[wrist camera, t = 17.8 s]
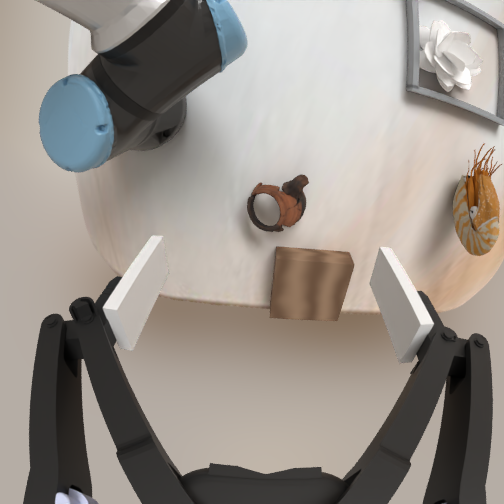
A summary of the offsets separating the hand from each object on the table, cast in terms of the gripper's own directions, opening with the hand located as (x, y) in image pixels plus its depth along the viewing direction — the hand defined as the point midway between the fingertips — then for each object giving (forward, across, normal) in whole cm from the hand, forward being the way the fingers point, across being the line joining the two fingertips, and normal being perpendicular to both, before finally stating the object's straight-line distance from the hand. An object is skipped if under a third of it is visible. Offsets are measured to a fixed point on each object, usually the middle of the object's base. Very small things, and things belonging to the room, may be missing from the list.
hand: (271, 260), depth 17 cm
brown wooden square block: (+35, +9, -27) cm, 45 cm away
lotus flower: (+35, +31, +23) cm, 52 cm away
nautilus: (+35, +40, -2) cm, 53 cm away
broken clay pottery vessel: (+36, +4, -8) cm, 37 cm away
